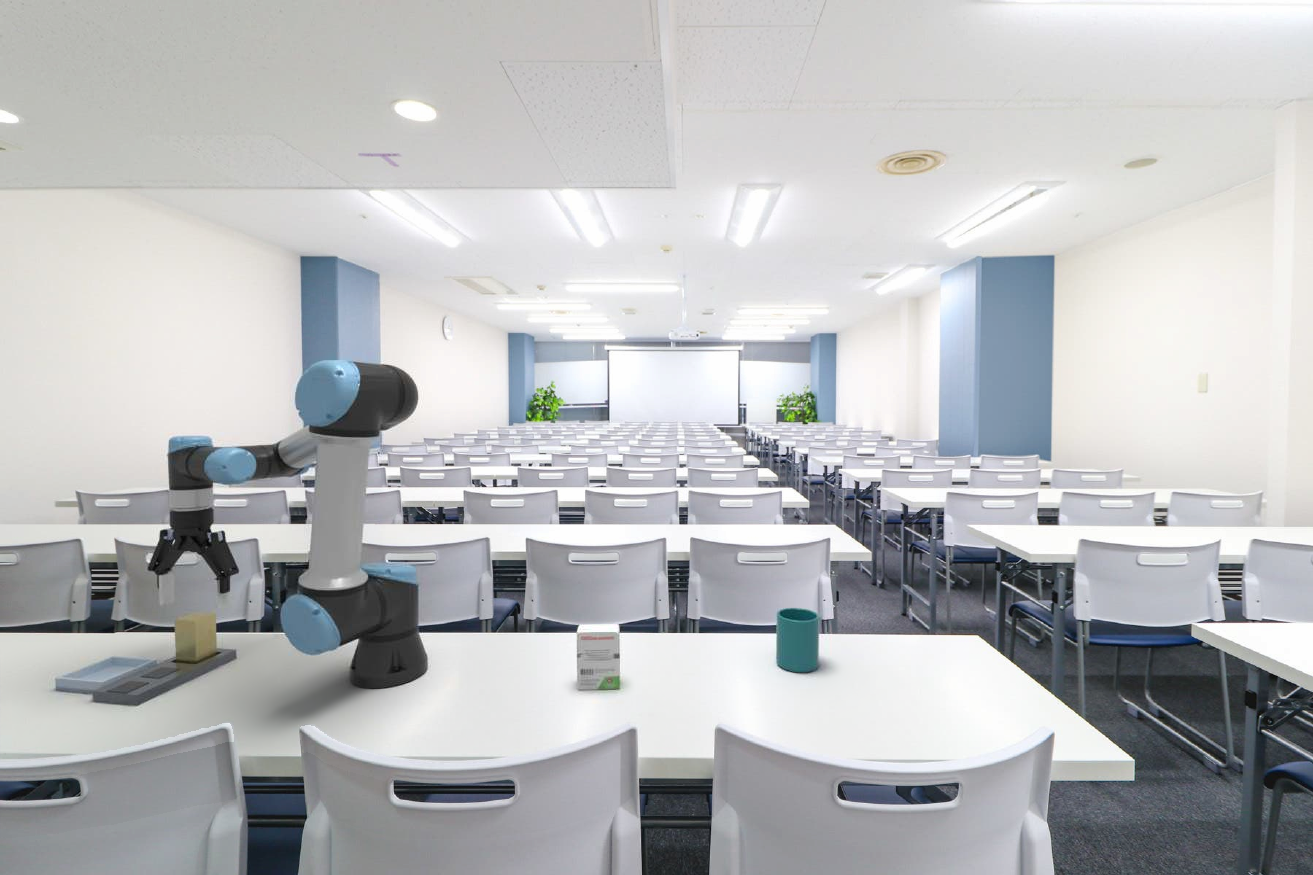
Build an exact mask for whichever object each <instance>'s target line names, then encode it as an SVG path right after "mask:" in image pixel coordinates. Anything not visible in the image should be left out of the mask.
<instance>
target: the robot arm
mask: <svg viewBox="0 0 1313 875" xmlns="http://www.w3.org/2000/svg"><path fill="white" fill-rule="evenodd" d="M418 403H419V389H418V387H417V384H416V382H415V380H414V379H413V378H412V377H411V375H409V373H407V371H405V370H404V369H403V368H400V367H398V366H395V365H392V364H385V363H384V364H383V363H382V364H381V363H373V362H371V363H370V362H363V361H361V362H360V361H351V360H346V359H343V360H340V359H337V360H335V359H334V360H333V359H332V360H331V359H327V360H320V361H317V362H315V363H313V364H312V365H311V366H309V368H308V369H306V370H305V371H304V372H303V373H302V375H301V376H300V378H299V380H298V382H297V385H296V388H295V392H294V406H295V409H296V410H297V411H298V413H297V414H298V416H299V418H300V419H301V420H302V421H303V422H305V423H306V424H308V425H305V427H302V428H301V429H299V430H298V431H296V432H293V433H292V434H290V435H288V436H286V437H285V438H283V439H281V440H280V441H278V442H276V443H271V444H257V445H256V444H255V445H237V446H235V445H234V446H214V445H213V444H214V443H213V439H212V437H210V436H208V435H177V436H172V437H170V438H169V440H168V448H167V454H166V456H167V468H168V473H167V474H168V487H169V488H168V508H170V509H171V510H170V511H169V528H164V529H160V530H159V535H158V536H159V537H158V539H159V540H158V542H157V544H156V546H155V549H154V551H153V554H152V556H151V559H150V561H149V563H148V564H147V565H148V566H147V571H148V572H154V573H155V575H156V578H157V579H156V582H157V583H156V586H157V589H158V597H159V598H158V599H159V600H158V601H159V606H164V605H168V604H171V603H175V579H174V578H175V574H174V573H175V572H174V571H173V567H174V566H175V565H176V563H177V562H178V560H179V559H180V558H181V557H182V556H183V554H184V553H185V552H190V553H196V554H197V555H199V556H201V557H202V559H203V560H204V561H205V563H206V564H207V565H208V567H209V568H210V570H211V571H212V572H213V574H214V575H215V576H216V577H215V578H213V600H214V601H213V602H214V603H213V609H214V611H218V610H221V609H225V608H227V607H229V593H230V591H231V577H232V576H235V575H237V574H239V573H240V569H239V567H238V565H237V562H236V561H235V557H234V556H233V553H232V551H231V548H230V547H229V545H228V542H227V538H226V531H224V530H219V531H218V530H217V531H215V532H214V531H213V532H212V529H211V526H212V525H213V524H214V522H215V516H214V515H215V514H214V513H215V512H214V508H213V507H212V506H213V505H214V484H220V485H221V484H222V485H224V486H225V485H226V486H228V485H241V484H244V483H245V482H250V481H258V480H265V479H277V478H278V479H279V478H292V477H295V476H300V475H304V474H305V473H307V472H308V471H309V469H310V468H311V467H312V464H313V463H315V474H314V475H315V476H314V487H313V488H314V489H313V490H314V492H313V504H312V516H311V517H312V518H311V531H310V532H311V533H310V545H309V546H310V547H309V548H310V549H309V562H308V569H307V570H305V572H303V573H302V574H301V575H300V576H299V577H298V581H297V582H298V583H297V593H296V594H294V595H290V596H289V597H288V598H287V599H286V600H285V601H284V602H283V604H282V606H281V608H280V624H281V628H282V631H283V633H284V635H285V637H286V639H288V641H289V643H290V644H291V645H292V646H293V647H294V648H295V649H296V650H297V651H298V652H300V653H302V654H305V655H308V656H317V655H322V654H324V653H326V652H333V651H335V650H337V649H338V648H340V647H342V646H344V645H347V644H349V643H352V642H354V641H356V640H357V644H356V647H355V650H354V653H353V657H352V660H351V662H350V665H349V666H350V667H349V681H350V683H351V684H352V685H354V686H356V687H360V688H365V689H366V688H367V689H379V688H380V689H382V688H388V687H395V686H399V685H403V684H406V683H409V682H412V681H414V680H416V679H418V678H420V677H422V676H423V675H424V674H425V673H426V672H427V670H428V668H429V667H428V666H429V660H428V659H429V658H428V654H427V652H426V650H425V647H424V644H423V641H422V638H421V636H420V632H419V631H420V630H419V585H420V583H419V580H418V579H419V577H418V570H417V568H416V567H415V566H413V565H412V564H410V563H409V564H408V563H401V562H372V563H365V564H361V561H362V560H361V558H362V549H363V534H364V523H365V511H366V510H365V509H366V496H367V485H368V472H369V459H370V457H369V456H370V448H371V447H370V446H371V445H372V444H373V443H374V442H375V441H376V440H378V438H380V433H381V432H382V431H383V432H384V431H387V430H389V429H392V428H394V427H396V426H398V425H399V424H401V423H403V422H405V421H406V420H408V419H409V418H410V417H411V416H412V415H413V414H414V412H415V411H416V409H417V406H418ZM380 431H381V432H380Z"/></svg>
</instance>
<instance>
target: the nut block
mask: <svg viewBox="0 0 1313 875" xmlns="http://www.w3.org/2000/svg"><path fill="white" fill-rule="evenodd" d="M216 614H217V613H216V612H206V611H204V612H202V611H194V612H191V613H188V614H186V615H183V616H180V617H177V618H175V619H174V620H173V621H174V642H175V643H174V644H175V645H174V646H175V647H174V648H175V651H174V652H175V656H176V663H186V664H198V663H200V662H202V661H204V660H207V659H209V658H211V657H213V656H215V655H217V648H218V646H217V643H218V642H217V620H216V619H217V616H216Z"/></svg>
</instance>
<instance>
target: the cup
mask: <svg viewBox="0 0 1313 875" xmlns="http://www.w3.org/2000/svg"><path fill="white" fill-rule="evenodd" d="M775 635H776V642H775V643H776V645H775V648H776V649H775V653H776V654H775V661H776V663H777V665H778V667H780V668H782V669H784V670H785V671H789V672H793V673H801V674H802V673H810V672H813V671H815V670H816V669H818V666H819V663H820V661H819V658H820V657H819V655H820V654H819V653H820V652H819V651H820V650H819V648H820V615H819V614H818V613H817V612H815V611H814V610H810V609H808V608H807V609H806V608H800V607H787V608H786V607H785V608H782V609H779V610H778V611H777V612H776V634H775Z"/></svg>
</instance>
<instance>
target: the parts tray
mask: <svg viewBox="0 0 1313 875" xmlns="http://www.w3.org/2000/svg"><path fill="white" fill-rule="evenodd" d="M156 664H158V659H157V658H143V657H131V656H118V655H113V656H110V657H108V658H103V659H102V660H100V661H99V660H98V661H97V662H94V663H91V664H88V665H86V666H84V667H81V668H79V669H76V670H73V671H71V672H67V673H66V674H65V673H64V674H63V675H60V676H57V677H55V678H54V679H55V680H54V682H55V683H54V684H55V691H57V692H67V693H76V694H89V695H93V692H92V691H94V690H96V689H99V688H101V687H103V686H106V685H108V684H110V683H113V682H115V681H118V680H120V679H122V678H125V677H127V676H129V675H132V674H134V673H137V672H139V671H141V670H144V669H146V668H148V667H151V666H153V665H156Z"/></svg>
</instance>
